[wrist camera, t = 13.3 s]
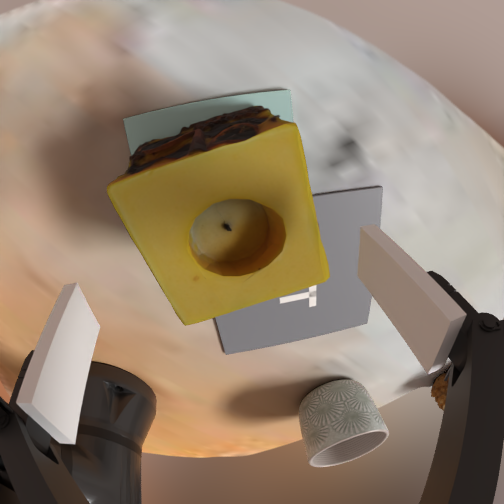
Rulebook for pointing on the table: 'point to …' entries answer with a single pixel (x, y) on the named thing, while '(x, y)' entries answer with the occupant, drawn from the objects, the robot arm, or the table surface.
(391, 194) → the table surface
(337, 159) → the table surface
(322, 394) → the planter
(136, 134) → the pad
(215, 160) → the candle
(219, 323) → the gray mat
